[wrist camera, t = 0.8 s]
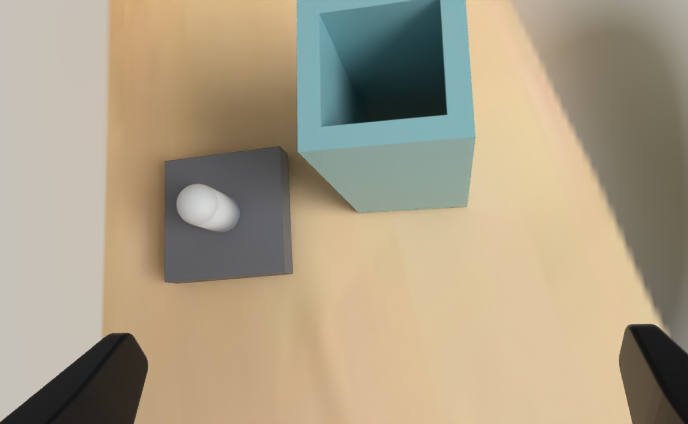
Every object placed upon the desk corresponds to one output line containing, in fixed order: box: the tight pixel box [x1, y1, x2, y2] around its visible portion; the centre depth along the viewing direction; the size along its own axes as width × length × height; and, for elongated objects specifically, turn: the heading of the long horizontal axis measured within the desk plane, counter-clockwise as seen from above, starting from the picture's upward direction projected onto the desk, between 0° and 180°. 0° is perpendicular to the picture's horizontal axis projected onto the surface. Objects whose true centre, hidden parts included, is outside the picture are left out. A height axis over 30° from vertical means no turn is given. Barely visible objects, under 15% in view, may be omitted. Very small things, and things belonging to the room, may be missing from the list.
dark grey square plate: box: [165, 146, 293, 283], centre depth 24 cm, size 6×6×4 cm
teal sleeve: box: [297, 0, 475, 213], centre depth 20 cm, size 5×5×10 cm
